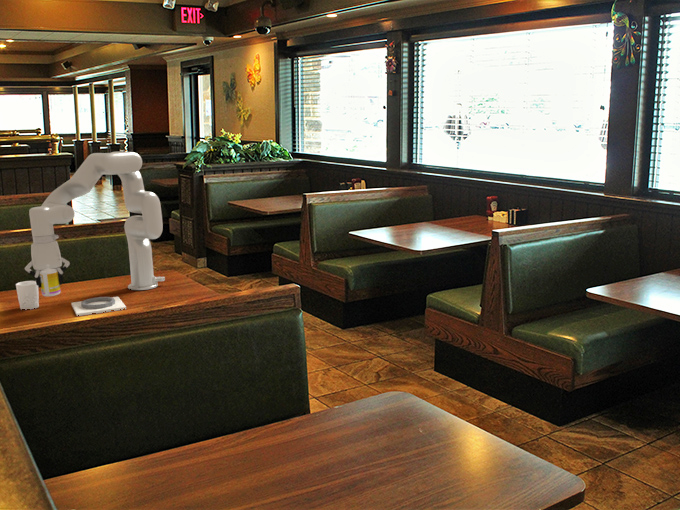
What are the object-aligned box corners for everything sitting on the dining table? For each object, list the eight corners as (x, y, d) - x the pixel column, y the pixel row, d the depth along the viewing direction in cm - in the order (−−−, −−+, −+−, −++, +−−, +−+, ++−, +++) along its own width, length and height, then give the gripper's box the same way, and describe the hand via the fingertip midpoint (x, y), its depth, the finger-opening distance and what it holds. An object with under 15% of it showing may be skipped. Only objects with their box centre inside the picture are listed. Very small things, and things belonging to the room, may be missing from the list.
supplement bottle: (64, 292, 257) (59, 259, 254) (55, 296, 251) (50, 263, 248) (47, 292, 258) (43, 260, 255) (38, 297, 251) (34, 264, 249)
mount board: (118, 298, 273) (117, 293, 272) (126, 309, 257) (125, 303, 257) (71, 305, 265) (71, 299, 264) (76, 316, 249) (76, 309, 249)
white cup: (23, 305, 266) (20, 281, 264) (43, 304, 266) (40, 280, 264) (15, 310, 258) (12, 285, 256) (36, 310, 259) (33, 285, 257)
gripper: (67, 235, 257) (73, 279, 261) (18, 240, 249) (24, 286, 253) (69, 238, 250) (75, 284, 254) (19, 244, 242) (25, 291, 246)
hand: (50, 285), depth 254 cm, fingers closed on supplement bottle, 6 cm apart
